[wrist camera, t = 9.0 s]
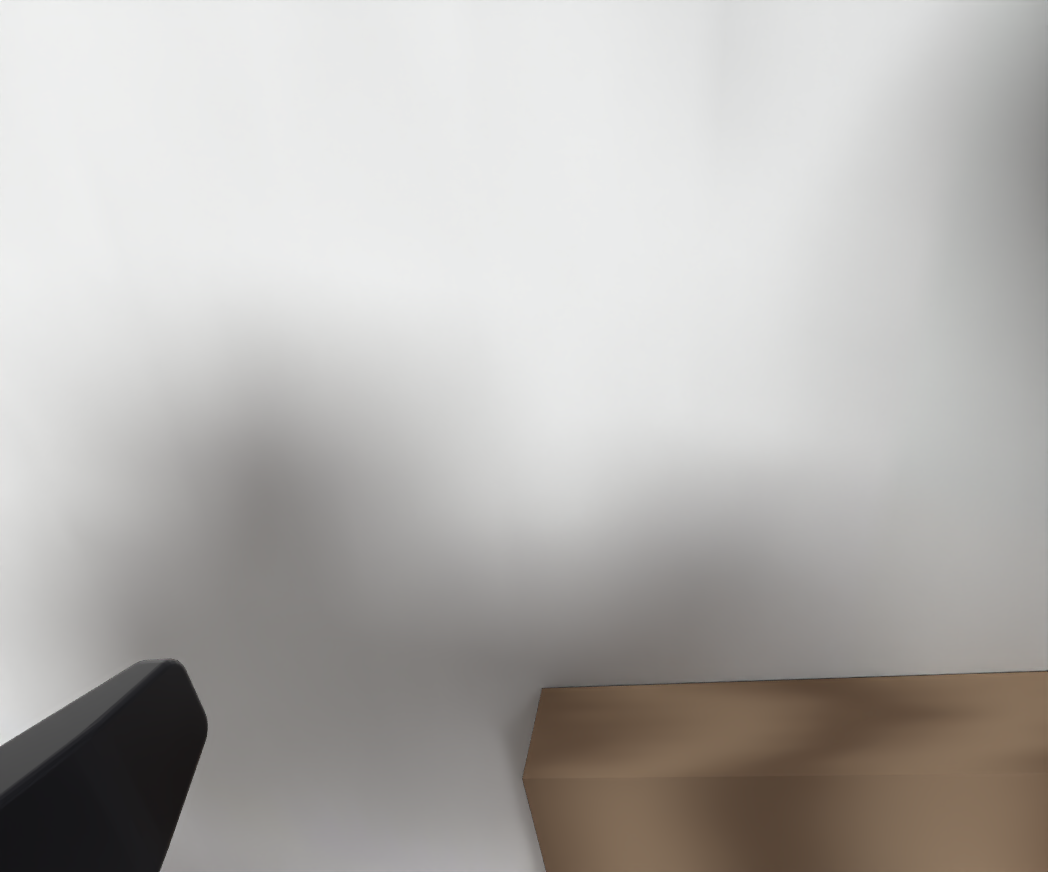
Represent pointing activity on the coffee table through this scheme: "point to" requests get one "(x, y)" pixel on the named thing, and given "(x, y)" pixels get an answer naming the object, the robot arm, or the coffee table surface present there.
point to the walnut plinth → (794, 775)
